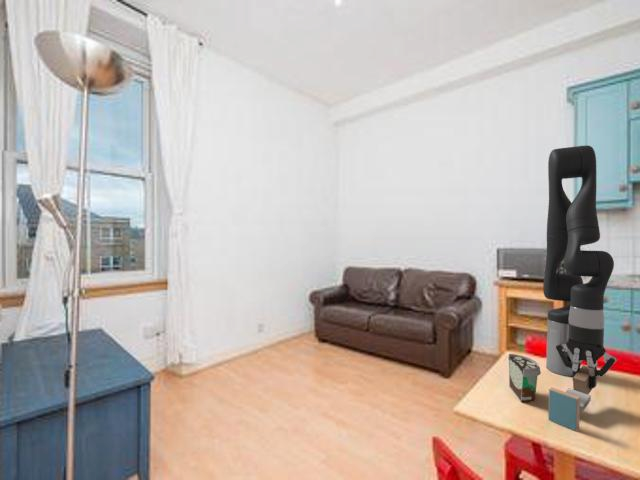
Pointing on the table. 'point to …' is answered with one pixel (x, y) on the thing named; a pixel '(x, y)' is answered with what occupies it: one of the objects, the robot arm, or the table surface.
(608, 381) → the table surface
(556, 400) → the tile
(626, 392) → the table surface
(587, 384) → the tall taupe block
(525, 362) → the food container
